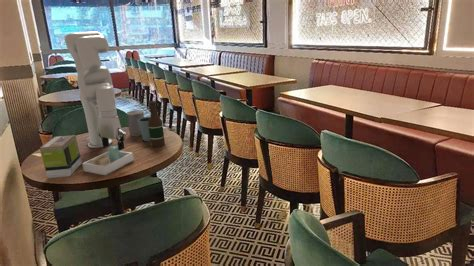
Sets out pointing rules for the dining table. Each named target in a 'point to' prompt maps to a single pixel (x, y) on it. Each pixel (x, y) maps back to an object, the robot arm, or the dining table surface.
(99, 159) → the maple cube
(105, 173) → the white tray
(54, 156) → the tea box
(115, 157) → the teal cylinder
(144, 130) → the drinking glass
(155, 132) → the beer bottle
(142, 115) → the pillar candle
